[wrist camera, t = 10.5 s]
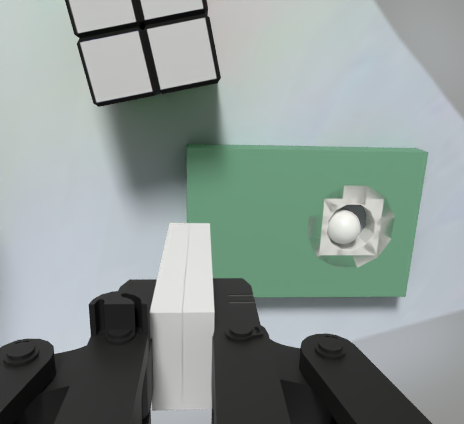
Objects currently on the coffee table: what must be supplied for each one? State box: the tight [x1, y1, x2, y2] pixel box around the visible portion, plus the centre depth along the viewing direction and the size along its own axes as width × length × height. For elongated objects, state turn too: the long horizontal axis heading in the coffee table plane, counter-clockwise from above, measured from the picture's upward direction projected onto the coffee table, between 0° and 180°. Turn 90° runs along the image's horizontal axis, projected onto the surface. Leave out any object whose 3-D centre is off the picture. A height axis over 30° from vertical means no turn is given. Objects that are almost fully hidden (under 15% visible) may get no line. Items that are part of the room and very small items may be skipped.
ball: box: [327, 210, 360, 244], centre depth 46 cm, size 4×4×4 cm
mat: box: [187, 144, 428, 297], centre depth 47 cm, size 24×16×2 cm, turn 89°
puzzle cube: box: [65, 0, 221, 107], centre depth 37 cm, size 10×10×10 cm
